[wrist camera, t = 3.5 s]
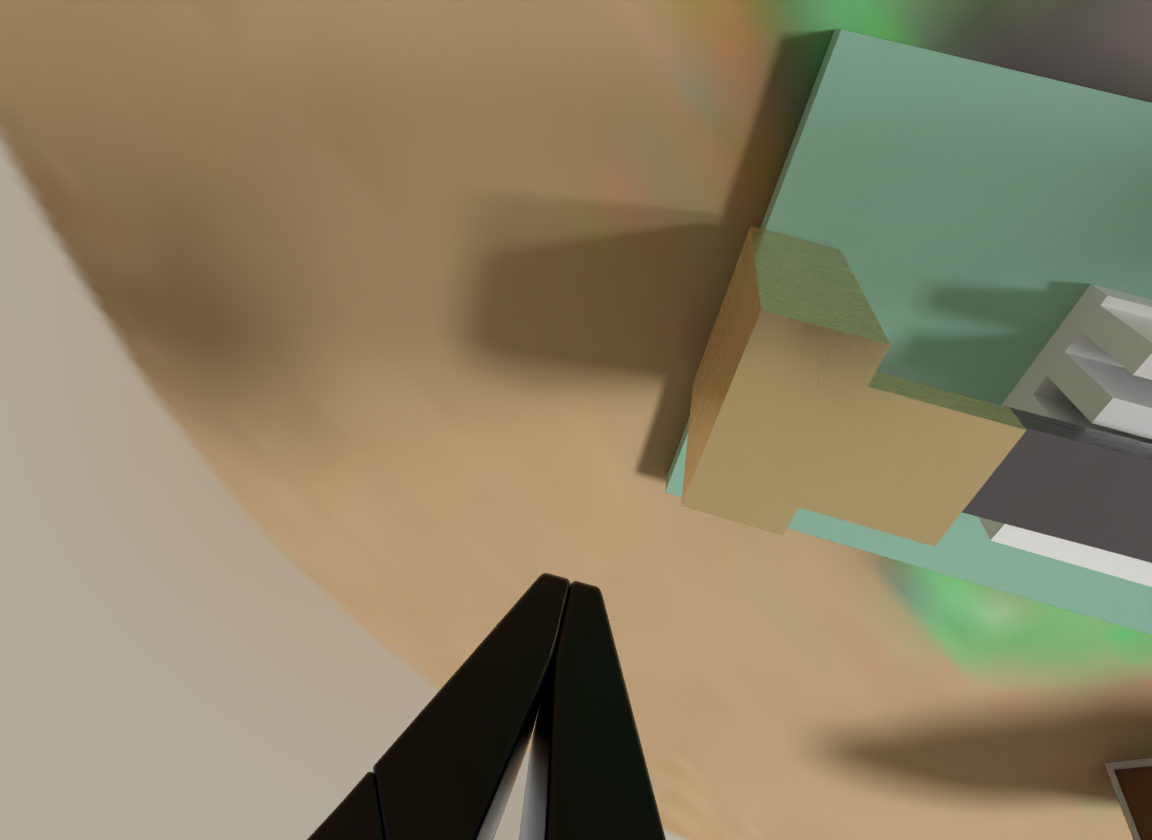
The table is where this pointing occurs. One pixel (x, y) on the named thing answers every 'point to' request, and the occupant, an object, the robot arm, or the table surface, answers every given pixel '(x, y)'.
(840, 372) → the block
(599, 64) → the table surface
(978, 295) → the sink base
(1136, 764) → the food container
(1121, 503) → the dark grey flat bar
